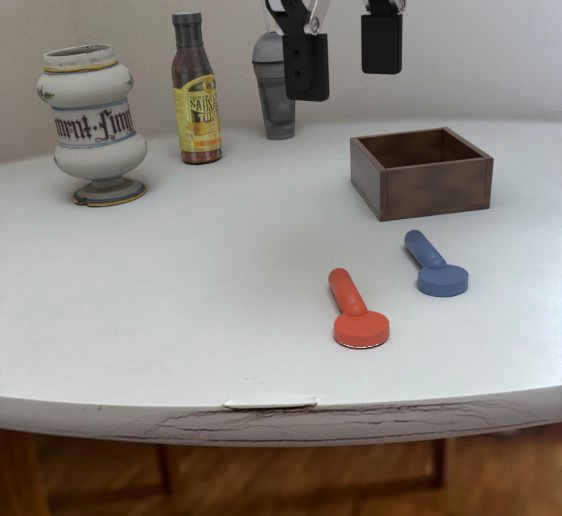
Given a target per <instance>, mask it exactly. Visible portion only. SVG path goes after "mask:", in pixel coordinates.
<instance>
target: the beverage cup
mask: <svg viewBox="0 0 562 516" xmlns="http://www.w3.org/2000/svg"><path fill="white" fill-rule="evenodd" d="M260 1H261V5H262V6H261V7H262V12H263V17H264V22H265V29H266V32H264V33H263V34H262V35H260V36H259V37H258V38H257V40H256V42H255V43H254V45H253V49H252V55H251V57H252V59H251V64H252V67H253V71H254V75H255V77H256V82H257V83H256V84H257V89H258V95H259V101H260V104H261V105H260V106H261V112H262V119H263V125H264V129H265V133H266V138H267V139H269V140H271V141H272V140H274V141H278V140H280V141H281V140H288V139H292V138H293V137H295V127H296V100H289V99H288V98H287V96H286V89H285V74H284V59H283V45H282V35H278V34H277V32H276V30H273V31H271V29H270V28H271V27H270V22H269V17H268V12H267V11H268V10H267V8H266V5H265V0H260Z"/></svg>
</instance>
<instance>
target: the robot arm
mask: <svg viewBox="0 0 562 516" xmlns="http://www.w3.org/2000/svg"><path fill="white" fill-rule="evenodd" d="M303 1H307V2H308V1H309V4H308V6H307V7H306V5H305V3H304V2H303ZM361 1H362V4H363V7H364V9H365V10H366V13H367V14H365V13H364V14H361V15H360V55H361V57H360V59H361V65H360V66H361V71H362V73H363V74H365V75H387V76H388V75H389V76H395V75H398V74H400V73H401V72H402V70H403V28H404V27H403V24H404V22H403V21H404V18H403V17H404V13H405V11H406V8H407V0H361ZM330 3H331V0H265V5H266V11H268V12H269V14H270V16H271V17H272V18H273V20H274V31H276V32H277V34H278V35H282V45H283V59H284V74H285V89H286V96H287V98H288V99H289V100H295V101H297V102H298V101H299V102H300V101H301V102H312V103H313V102H315V103H322V102H325V101H327V100H329V99H330V95H331V93H330V91H331V90H330V65H329V62H330V61H329V40H328V39H329V38H328V33H320V32H321V28H322V26H323V23H324V20H325V18H326V15H327V11H328V8H329V6H330Z"/></svg>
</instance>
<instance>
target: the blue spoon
mask: <svg viewBox="0 0 562 516" xmlns="http://www.w3.org/2000/svg"><path fill="white" fill-rule="evenodd" d="M403 242H404V246H405V247H406V248H407V249H408V251H409V252H410V253H411V255H412V256H413V258H414V259H415V260H416V261H417V263H418V264H419V266H420V267H421V268H420V270H419V271H418V273H417V288H418V290H419V291H420V292H422V293H424V294H425V295H429V296H433V297H440V298H441V297H443V298H444V297H454V296H459V295H461V294H463V293H465V292H466V291H468V290H467V289H468V287H469V277H470V276H469V272H468V270H467V269H465V268H463V267H461V266H459V265H454V264H448V263H447V261H446V260H445V259H444V257H443V256H442V254H440V253H439V251H438V250H437V249H436V247H435V246H434V245H433V244H432V243H431V242H430V241H429V239H428V238H427V237H426V235H424V234H423V232H421V231H420V230H418V229H410V230H409V231H407V232H406V233H405V235H404V238H403Z"/></svg>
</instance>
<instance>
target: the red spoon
mask: <svg viewBox="0 0 562 516" xmlns="http://www.w3.org/2000/svg"><path fill="white" fill-rule="evenodd" d="M327 281H328V284H329V286H330V289H331V291H332V293H333V296H334V297H335V300H336V302H337V305H338V307H339V309H340V310H341V313H342V314H339V316H337V317H336V318H335V319H334V321H333V337H335V338H334V340H335V339H336V340H337V341H338V342H340V343H342V344H345V345H349V346H353V347H364V346H365V347H368V346H374V345H376V344H380V343H382V342H384V341H385V340H386V339H387V338H388V339H389V337H390V320H389V319H388V317H387V316H386V315H384V314H383V313H381V312H378V311H374V310H369V309H368V307H367V305H366V303H365V301H364V300H363V297H362V295H361V293H360V291H359V290H358V288H357V286H356V284H355V282H354V280H353V279H352V277H351V274H350V272H349V271H348V270H347V269H345V268H343V267H336V268H334V269H332V270H331V271H330V272H329V273H328V277H327ZM388 336H389V337H388ZM388 339H387V340H388ZM336 340H335V341H336ZM337 341H336V342H337ZM338 342H337V343H338ZM385 342H386V341H385ZM385 342H384V343H385Z"/></svg>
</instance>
